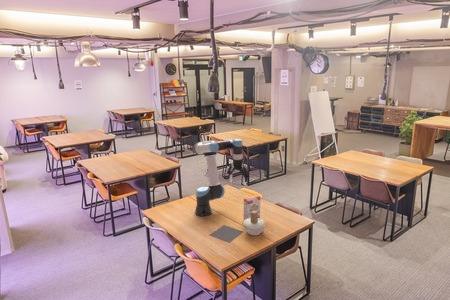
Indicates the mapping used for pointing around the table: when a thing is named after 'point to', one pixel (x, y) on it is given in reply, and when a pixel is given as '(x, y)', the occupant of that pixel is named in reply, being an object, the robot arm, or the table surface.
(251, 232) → the paper bowls
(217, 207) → the table surface
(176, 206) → the table surface
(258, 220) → the lid
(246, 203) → the cracker box
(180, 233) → the table surface
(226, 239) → the mat
